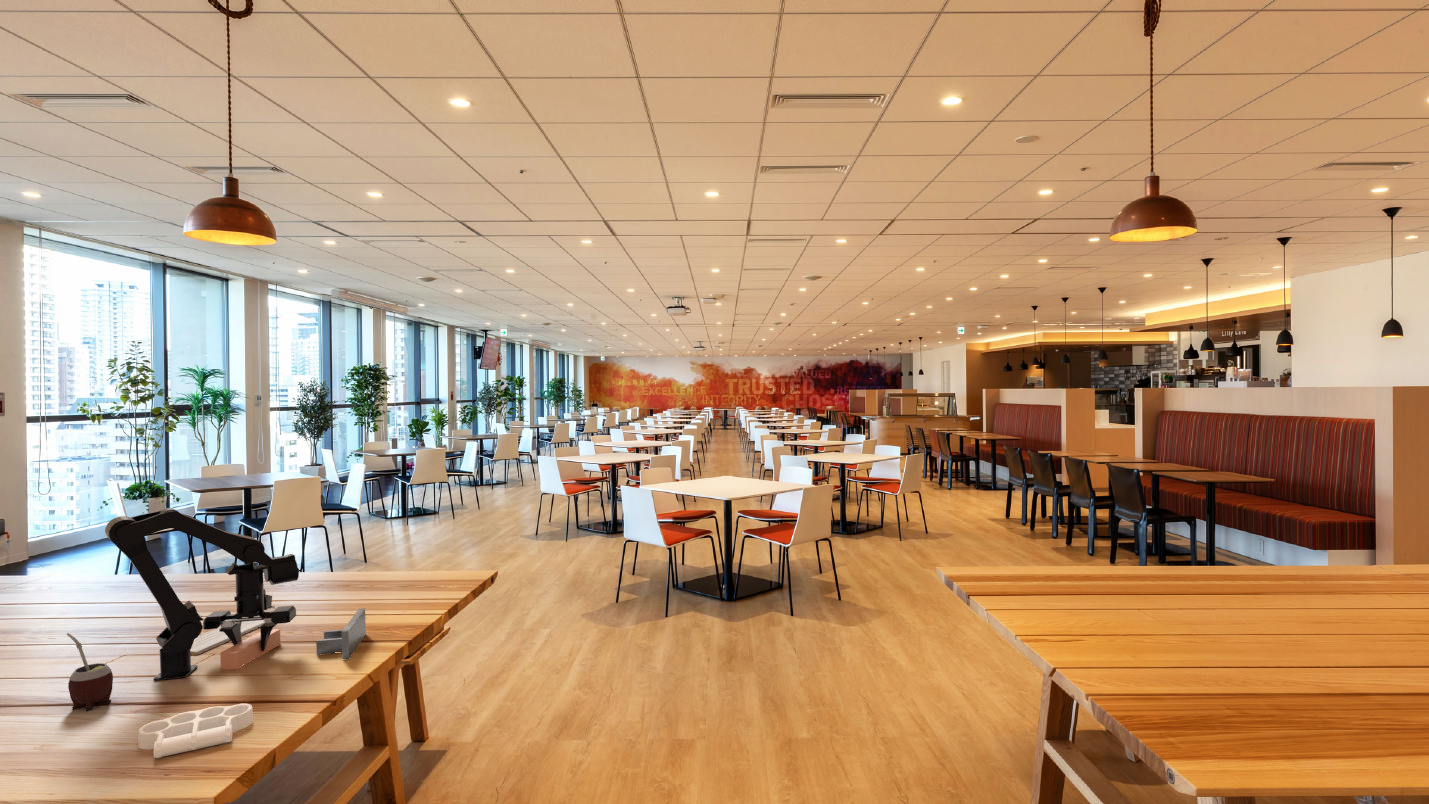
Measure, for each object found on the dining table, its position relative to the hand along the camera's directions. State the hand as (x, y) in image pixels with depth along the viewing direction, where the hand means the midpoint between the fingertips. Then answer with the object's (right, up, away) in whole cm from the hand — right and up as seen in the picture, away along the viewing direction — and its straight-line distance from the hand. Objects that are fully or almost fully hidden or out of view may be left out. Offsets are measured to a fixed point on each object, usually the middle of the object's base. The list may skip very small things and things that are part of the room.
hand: (251, 651), depth 180 cm
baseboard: (-18, -1, +17) cm, 25 cm away
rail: (0, -1, 0) cm, 1 cm away
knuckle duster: (+15, -3, -40) cm, 43 cm away
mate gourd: (-17, -2, -27) cm, 32 cm away
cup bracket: (+19, -1, +5) cm, 20 cm away
